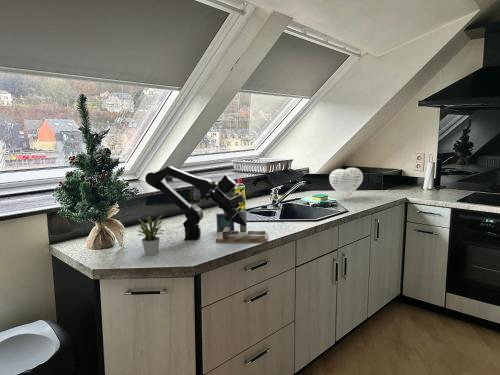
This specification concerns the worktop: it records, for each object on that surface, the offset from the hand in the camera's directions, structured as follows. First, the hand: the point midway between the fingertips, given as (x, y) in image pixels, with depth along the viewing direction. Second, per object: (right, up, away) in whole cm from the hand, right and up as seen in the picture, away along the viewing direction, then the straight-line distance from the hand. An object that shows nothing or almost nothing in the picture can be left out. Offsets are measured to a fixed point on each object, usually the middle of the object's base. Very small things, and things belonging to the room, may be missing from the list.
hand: (246, 223), depth 176 cm
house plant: (-38, -11, -17) cm, 43 cm away
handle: (-1, -5, +1) cm, 5 cm away
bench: (-2, -7, +1) cm, 7 cm away
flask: (-10, -5, +16) cm, 20 cm away
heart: (+70, +8, +98) cm, 120 cm away
